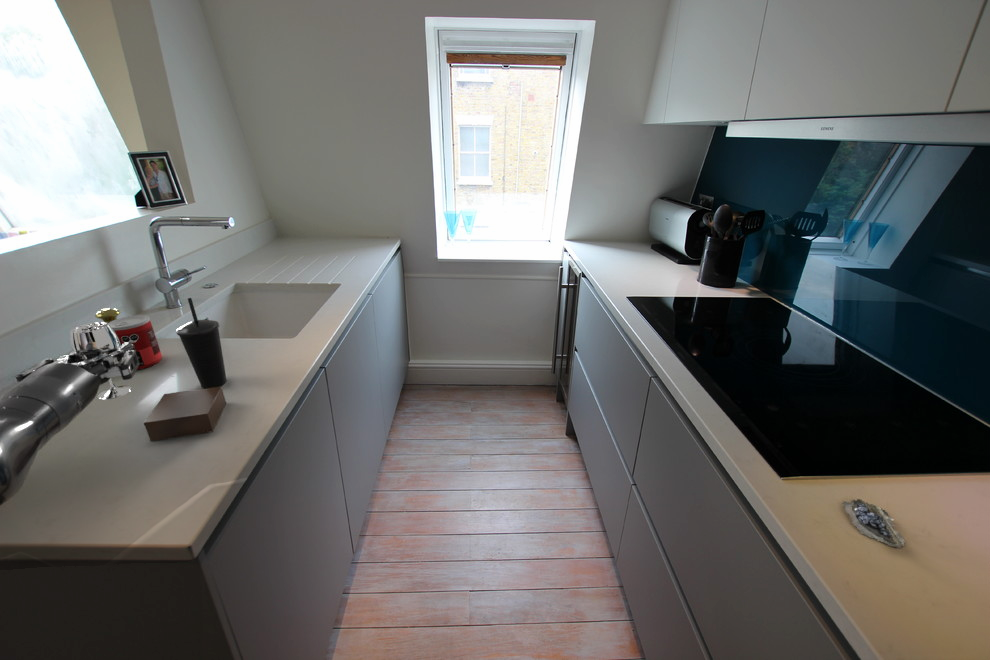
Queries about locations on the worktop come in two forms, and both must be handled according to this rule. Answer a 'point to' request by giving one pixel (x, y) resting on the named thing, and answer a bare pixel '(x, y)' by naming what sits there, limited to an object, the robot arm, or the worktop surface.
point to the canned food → (139, 338)
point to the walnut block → (185, 413)
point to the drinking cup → (204, 349)
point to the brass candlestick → (107, 314)
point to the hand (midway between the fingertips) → (107, 349)
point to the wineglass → (97, 350)
